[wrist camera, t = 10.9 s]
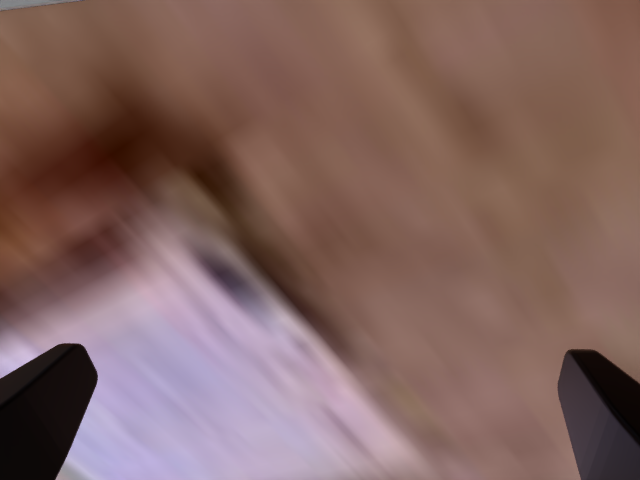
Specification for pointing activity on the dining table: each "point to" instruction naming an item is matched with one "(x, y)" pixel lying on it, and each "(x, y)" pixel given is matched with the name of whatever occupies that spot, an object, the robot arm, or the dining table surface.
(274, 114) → the dining table surface
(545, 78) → the dining table surface
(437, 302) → the dining table surface
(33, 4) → the slate tray
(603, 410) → the robot arm
